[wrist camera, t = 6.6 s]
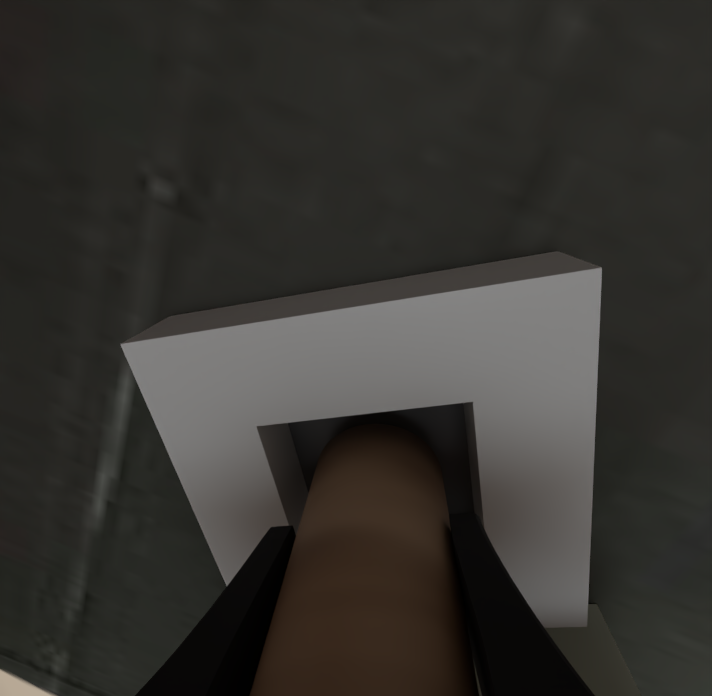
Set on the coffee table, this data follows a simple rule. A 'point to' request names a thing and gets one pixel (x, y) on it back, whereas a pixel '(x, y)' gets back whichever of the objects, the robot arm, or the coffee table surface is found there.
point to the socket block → (397, 406)
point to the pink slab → (594, 656)
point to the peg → (371, 579)
